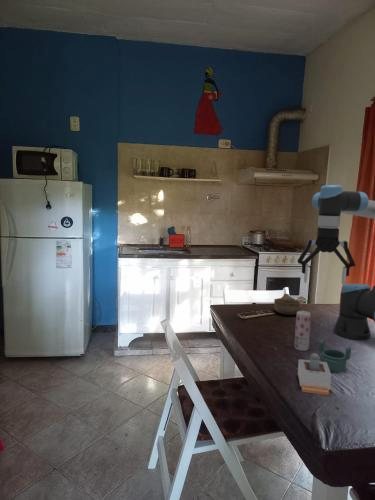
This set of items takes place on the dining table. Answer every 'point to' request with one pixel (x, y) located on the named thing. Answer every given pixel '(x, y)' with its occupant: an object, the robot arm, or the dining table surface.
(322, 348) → the bracket
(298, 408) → the dining table surface
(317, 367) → the keeper
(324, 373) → the white square sleeve
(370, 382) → the dining table surface
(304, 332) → the beverage can
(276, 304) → the bowl
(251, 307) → the dining table surface
